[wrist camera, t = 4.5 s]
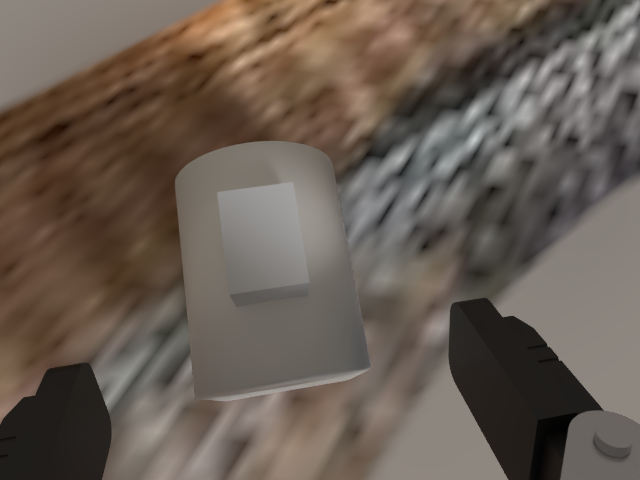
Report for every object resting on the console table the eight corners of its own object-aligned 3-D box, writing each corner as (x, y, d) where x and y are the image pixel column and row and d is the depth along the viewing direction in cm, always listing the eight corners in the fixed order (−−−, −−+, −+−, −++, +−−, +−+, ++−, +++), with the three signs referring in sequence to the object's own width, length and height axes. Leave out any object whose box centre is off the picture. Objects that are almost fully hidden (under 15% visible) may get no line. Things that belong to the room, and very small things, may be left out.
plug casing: (321, 234, 21) (343, 104, 12) (347, 380, 19) (395, 356, 10) (209, 251, 20) (143, 128, 11) (226, 401, 19) (164, 395, 10)
